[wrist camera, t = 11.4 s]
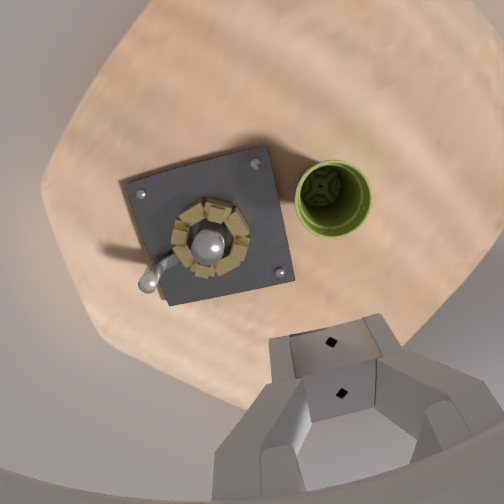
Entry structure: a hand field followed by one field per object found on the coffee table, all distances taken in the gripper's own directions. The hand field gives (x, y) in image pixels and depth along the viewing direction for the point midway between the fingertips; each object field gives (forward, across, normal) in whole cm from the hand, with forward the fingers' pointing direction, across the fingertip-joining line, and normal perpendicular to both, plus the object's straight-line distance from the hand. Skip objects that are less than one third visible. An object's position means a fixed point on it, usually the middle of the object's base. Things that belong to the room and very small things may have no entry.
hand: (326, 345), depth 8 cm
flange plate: (+37, +9, +8) cm, 39 cm away
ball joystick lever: (+35, +12, +9) cm, 38 cm away
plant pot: (+37, -7, +5) cm, 38 cm away
